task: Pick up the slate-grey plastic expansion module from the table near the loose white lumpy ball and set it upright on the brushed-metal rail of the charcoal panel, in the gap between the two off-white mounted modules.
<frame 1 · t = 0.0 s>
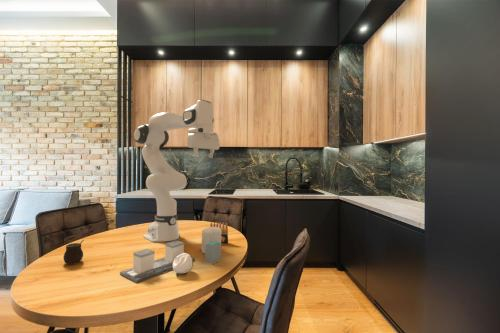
hand: (204, 157, 133), 48 cm above the table, tool pointing down, fingers open, 8 cm apart
photo printer: (211, 251, 129), on the table
mate gourd: (73, 263, 111), on the table
rail panel: (160, 267, 108), on the table
white lumpy ball: (182, 273, 103), on the table
ammunition clip: (218, 243, 144), on the table
expansion module: (213, 261, 116), on the table
mounted modules: (160, 255, 108), point 5 cm above the table
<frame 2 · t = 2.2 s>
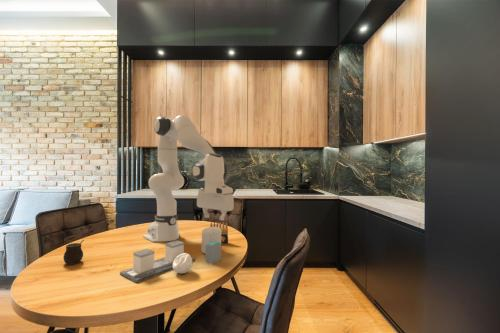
hand: (214, 218, 116), 19 cm above the table, tool pointing down, fingers open, 8 cm apart
nothing on the table moved.
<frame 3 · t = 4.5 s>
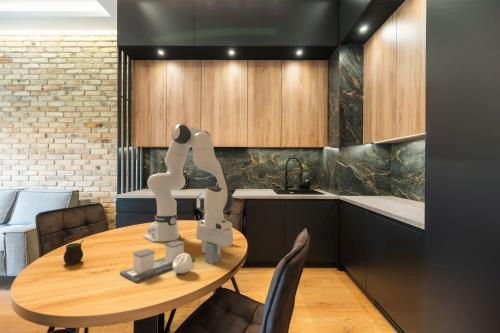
hand: (213, 252, 116), 4 cm above the table, tool pointing down, fingers closed on expansion module, 4 cm apart
expansion module: (213, 261, 116), on the table, touching gripper
everything else where it was.
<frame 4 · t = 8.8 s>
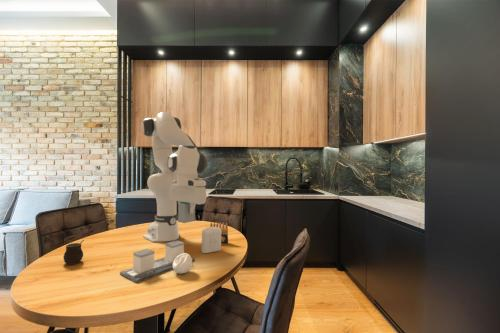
hand: (186, 212, 112), 23 cm above the table, tool pointing down, fingers closed on expansion module, 4 cm apart
expansion module: (186, 221, 112), point 19 cm above the table, touching gripper
everything else where it was.
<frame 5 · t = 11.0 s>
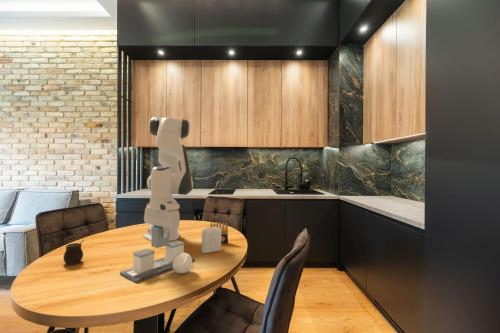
hand: (160, 236, 108), 13 cm above the table, tool pointing down, fingers closed on expansion module, 4 cm apart
expansion module: (160, 245, 108), point 9 cm above the table, touching gripper
everything else where it was.
when the fingers open (6 cm above the table, at t = 12.9 s): expansion module stays where it is, resting on rail panel.
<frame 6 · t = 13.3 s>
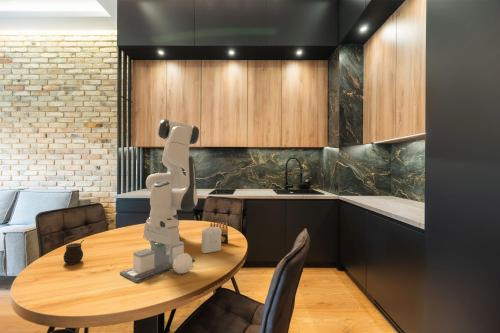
hand: (160, 252, 108), 6 cm above the table, tool pointing down, fingers open, 8 cm apart
expansion module: (160, 263, 108), point 1 cm above the table, touching rail panel
everything else where it was.
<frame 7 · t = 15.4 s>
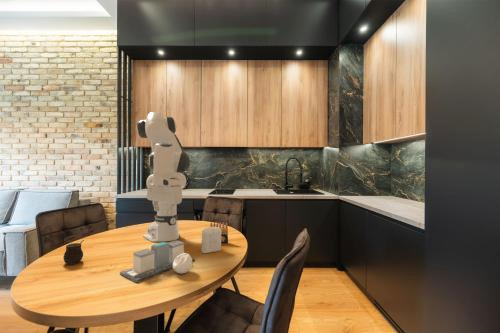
hand: (163, 212, 109), 23 cm above the table, tool pointing down, fingers open, 8 cm apart
nothing on the table moved.
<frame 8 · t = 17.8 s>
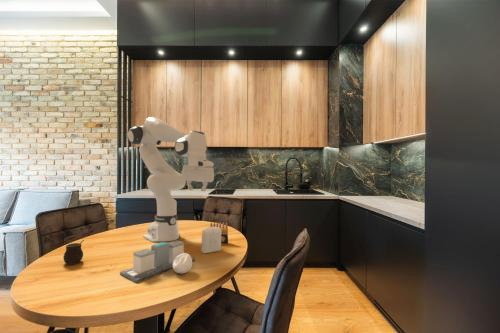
hand: (196, 190, 127), 31 cm above the table, tool pointing down, fingers open, 8 cm apart
nothing on the table moved.
at the end: expansion module 0.1 cm off-centre on the rail panel, point 1.5 cm above the rail panel's base; expansion module tilted 0°; the gripper is holding nothing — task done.
